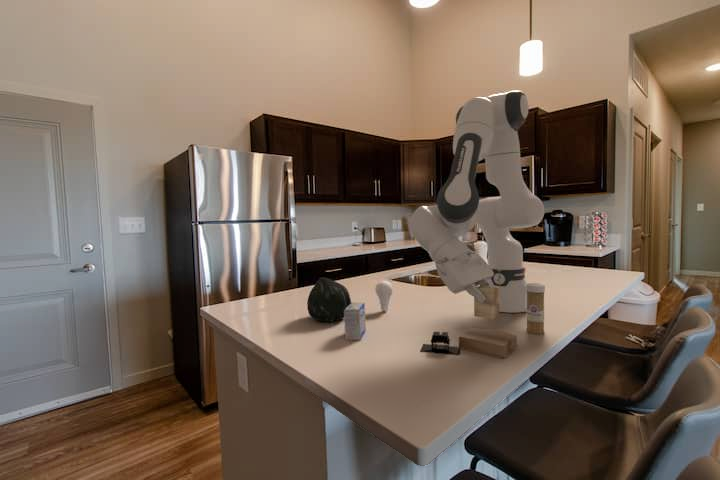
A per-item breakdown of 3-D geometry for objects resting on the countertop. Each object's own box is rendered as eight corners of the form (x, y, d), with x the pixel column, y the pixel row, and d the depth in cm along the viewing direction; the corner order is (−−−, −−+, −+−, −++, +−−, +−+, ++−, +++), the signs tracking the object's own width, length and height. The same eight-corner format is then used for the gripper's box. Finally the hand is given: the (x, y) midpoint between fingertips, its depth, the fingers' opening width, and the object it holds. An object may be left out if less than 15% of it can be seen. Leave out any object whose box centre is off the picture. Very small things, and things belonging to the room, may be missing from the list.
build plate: (466, 348, 88) (466, 330, 88) (466, 360, 82) (465, 340, 81) (418, 344, 92) (417, 327, 92) (413, 354, 86) (412, 336, 85)
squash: (360, 296, 123) (331, 266, 122) (356, 310, 108) (323, 275, 107) (332, 322, 125) (303, 292, 124) (324, 339, 110) (291, 305, 110)
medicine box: (360, 340, 95) (359, 309, 94) (344, 340, 96) (343, 309, 95) (365, 331, 103) (364, 302, 102) (351, 330, 104) (350, 302, 103)
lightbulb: (375, 309, 126) (375, 279, 125) (392, 309, 125) (392, 279, 125) (376, 314, 120) (375, 282, 119) (393, 313, 119) (393, 282, 119)
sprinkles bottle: (526, 333, 96) (526, 285, 95) (526, 328, 100) (526, 282, 99) (545, 335, 94) (545, 286, 93) (543, 329, 98) (544, 283, 97)
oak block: (481, 312, 90) (481, 285, 89) (499, 314, 87) (499, 287, 86) (474, 316, 86) (474, 288, 86) (492, 319, 83) (492, 290, 83)
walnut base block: (474, 337, 94) (474, 326, 94) (516, 346, 87) (516, 335, 87) (459, 348, 87) (459, 336, 87) (503, 358, 80) (503, 346, 80)
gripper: (440, 252, 82) (481, 298, 76) (476, 245, 97) (512, 283, 92) (424, 269, 85) (462, 315, 80) (461, 260, 101) (495, 298, 95)
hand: (489, 298), depth 86 cm, fingers closed on oak block, 4 cm apart
